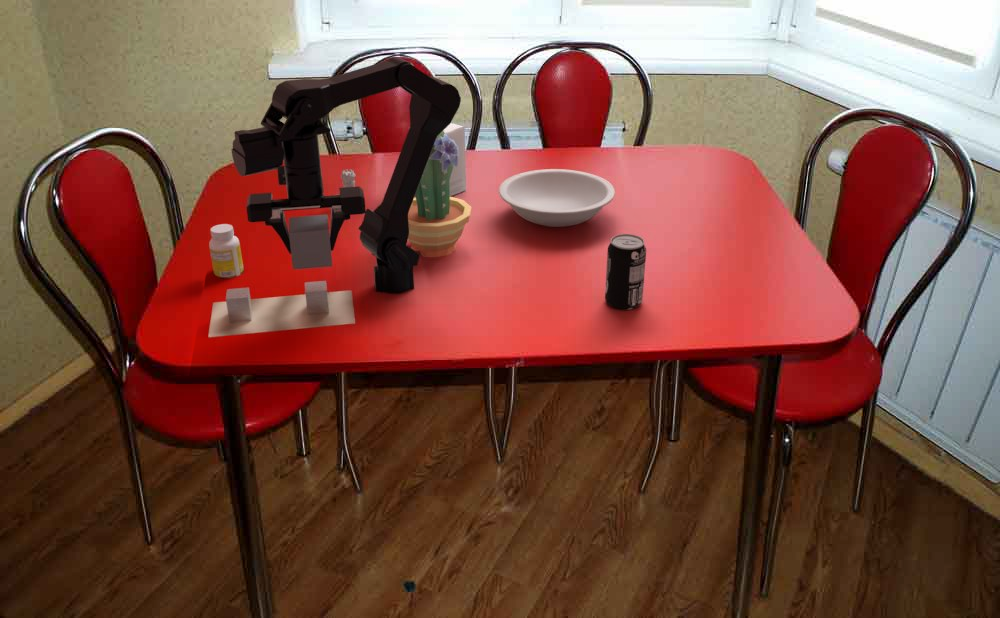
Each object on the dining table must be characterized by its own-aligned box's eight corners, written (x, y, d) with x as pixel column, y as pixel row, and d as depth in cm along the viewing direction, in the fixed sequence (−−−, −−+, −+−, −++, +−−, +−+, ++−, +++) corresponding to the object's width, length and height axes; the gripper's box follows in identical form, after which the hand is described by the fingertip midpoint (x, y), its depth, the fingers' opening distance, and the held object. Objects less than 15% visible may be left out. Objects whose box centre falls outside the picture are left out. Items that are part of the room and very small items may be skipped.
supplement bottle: (232, 267, 183) (225, 219, 178) (250, 275, 180) (243, 227, 175) (208, 277, 179) (200, 229, 174) (226, 285, 176) (218, 237, 171)
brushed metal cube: (252, 310, 166) (248, 287, 164) (251, 320, 163) (248, 297, 160) (230, 312, 165) (227, 289, 163) (229, 322, 162) (225, 299, 160)
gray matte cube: (331, 250, 165) (327, 214, 161) (332, 266, 159) (328, 229, 156) (292, 253, 163) (288, 217, 160) (293, 269, 158) (288, 233, 155)
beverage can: (603, 293, 173) (606, 232, 167) (640, 293, 173) (644, 232, 167) (606, 311, 167) (609, 248, 161) (643, 311, 167) (648, 249, 161)
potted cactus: (399, 268, 182) (391, 141, 170) (390, 234, 195) (382, 115, 183) (479, 260, 185) (477, 135, 173) (465, 228, 198) (462, 109, 186)
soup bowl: (637, 224, 199) (639, 195, 196) (544, 253, 187) (544, 222, 184) (566, 188, 217) (567, 161, 213) (477, 213, 205) (476, 184, 202)
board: (351, 295, 173) (351, 290, 172) (355, 328, 162) (355, 323, 162) (214, 307, 169) (213, 302, 168) (209, 342, 158) (208, 337, 158)
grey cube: (328, 303, 168) (326, 280, 166) (329, 313, 165) (326, 290, 163) (307, 305, 167) (304, 282, 165) (307, 315, 164) (305, 292, 162)
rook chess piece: (350, 200, 211) (347, 166, 207) (365, 205, 209) (362, 170, 205) (336, 207, 208) (332, 172, 204) (351, 212, 205) (348, 176, 201)
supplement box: (467, 190, 216) (466, 126, 208) (438, 202, 210) (436, 136, 203) (440, 180, 221) (437, 117, 214) (411, 191, 216) (407, 126, 208)
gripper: (358, 142, 161) (364, 227, 169) (244, 149, 158) (255, 236, 166) (362, 165, 152) (369, 254, 159) (241, 173, 149) (253, 264, 156)
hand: (311, 251), depth 161 cm, fingers closed on gray matte cube, 6 cm apart
